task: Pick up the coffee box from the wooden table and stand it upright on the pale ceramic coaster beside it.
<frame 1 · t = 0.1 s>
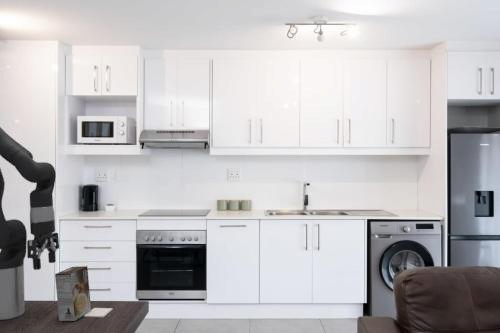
hand: (44, 265, 133), 17 cm above the table, tool pointing down, fingers open, 8 cm apart
coaster: (98, 313, 134), on the table
coffee box: (75, 316, 132), on the table, touching coaster
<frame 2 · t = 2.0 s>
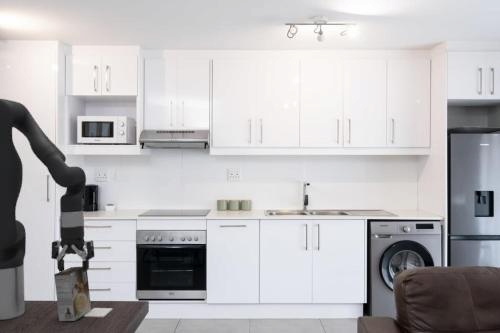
hand: (73, 270, 132), 16 cm above the table, tool pointing down, fingers open, 8 cm apart
coffee box: (75, 316, 132), on the table, touching coaster, gripper
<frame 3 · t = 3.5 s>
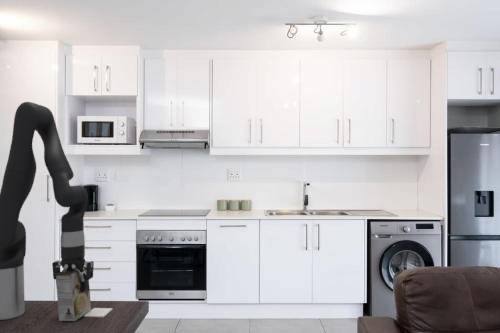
hand: (73, 291, 132), 9 cm above the table, tool pointing down, fingers closed on coffee box, 6 cm apart
coffee box: (75, 316, 132), on the table, touching coaster, gripper
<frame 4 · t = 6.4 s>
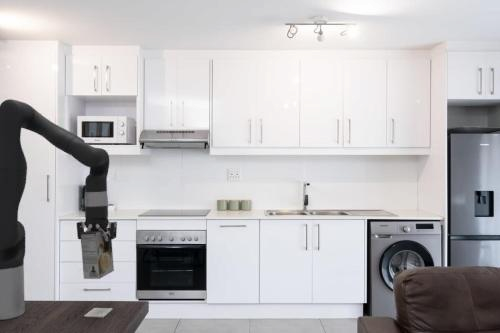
hand: (97, 251, 134), 22 cm above the table, tool pointing down, fingers closed on coffee box, 6 cm apart
coffee box: (99, 275, 134), point 13 cm above the table, touching gripper
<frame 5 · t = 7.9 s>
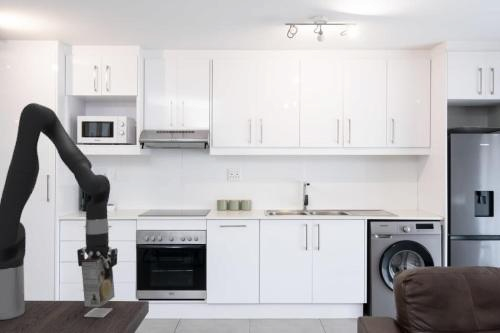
hand: (98, 278, 134), 12 cm above the table, tool pointing down, fingers closed on coffee box, 6 cm apart
coffee box: (100, 302, 135), point 4 cm above the table, touching gripper
when the fingers open (11 cm above the table, at t = 9.3 s): coffee box drops 2 cm, resting on coaster.
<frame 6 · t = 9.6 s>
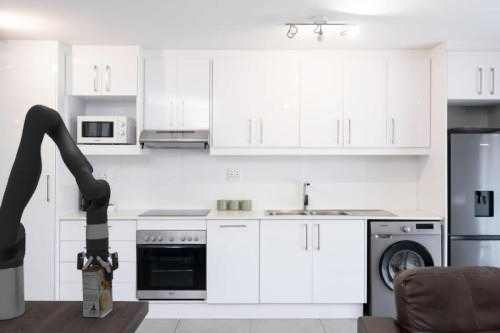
hand: (98, 281, 134), 11 cm above the table, tool pointing down, fingers open, 8 cm apart
coffee box: (98, 312, 135), resting on coaster
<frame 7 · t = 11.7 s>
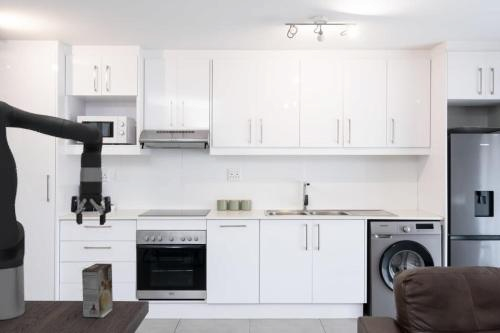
hand: (91, 224, 139), 31 cm above the table, tool pointing down, fingers open, 8 cm apart
nothing on the table moved.
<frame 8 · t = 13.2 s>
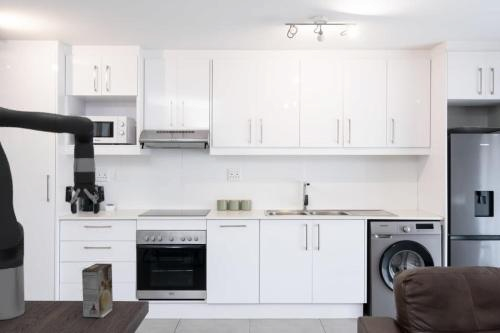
hand: (85, 213, 143), 34 cm above the table, tool pointing down, fingers open, 8 cm apart
nothing on the table moved.
at the end: coffee box 0.3 cm off-centre on the coaster, point 0.2 cm above the coaster's base; coffee box tilted 0°; the gripper is holding nothing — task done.
